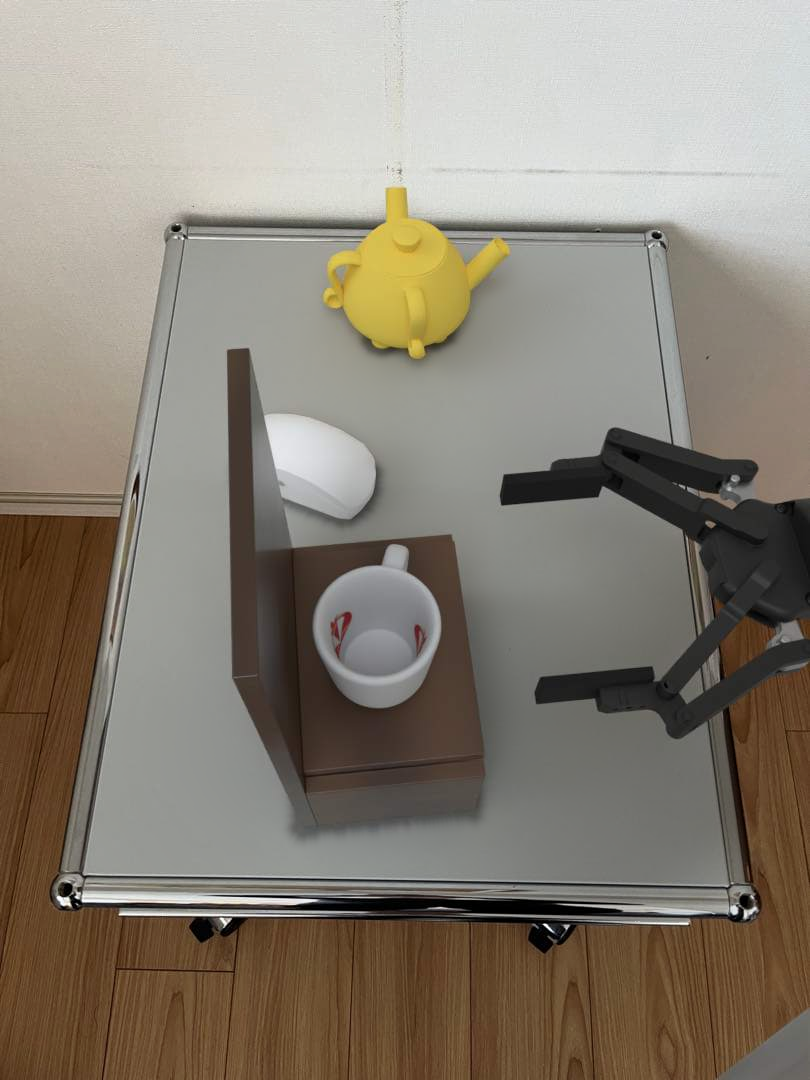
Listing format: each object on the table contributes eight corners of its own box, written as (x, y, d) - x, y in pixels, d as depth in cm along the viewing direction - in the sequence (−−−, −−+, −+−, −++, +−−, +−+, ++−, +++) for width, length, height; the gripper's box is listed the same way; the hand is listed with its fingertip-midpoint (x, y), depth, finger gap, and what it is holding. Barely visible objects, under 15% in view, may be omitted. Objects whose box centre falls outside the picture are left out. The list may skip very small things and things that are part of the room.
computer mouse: (260, 426, 88) (250, 386, 83) (387, 472, 86) (386, 433, 80) (228, 480, 85) (216, 442, 80) (358, 529, 83) (355, 493, 78)
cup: (345, 569, 68) (340, 515, 61) (453, 590, 67) (460, 537, 60) (308, 710, 63) (297, 669, 56) (424, 734, 62) (427, 695, 55)
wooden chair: (445, 593, 80) (473, 330, 50) (474, 810, 72) (529, 651, 42) (291, 606, 80) (226, 348, 50) (302, 828, 71) (231, 678, 41)
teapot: (506, 305, 95) (518, 221, 85) (426, 391, 90) (429, 312, 80) (394, 242, 99) (393, 155, 89) (311, 321, 94) (301, 237, 84)
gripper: (895, 767, 56) (546, 804, 55) (775, 424, 68) (484, 449, 66) (962, 731, 49) (566, 772, 48) (816, 358, 61) (494, 384, 60)
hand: (518, 585), depth 57 cm, fingers open, 13 cm apart
